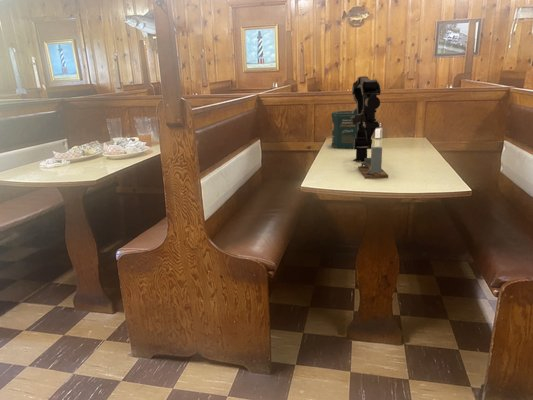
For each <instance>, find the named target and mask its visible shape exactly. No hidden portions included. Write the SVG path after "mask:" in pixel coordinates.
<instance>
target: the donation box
mask: <svg viewBox="0 0 533 400" xmlns="http://www.w3.org/2000/svg"><path fill="white" fill-rule="evenodd" d="M354 115H357V107H356V108H355V109H354V110H338V111H333V112H331V148H333V149H339V150H342V149H344V150H354V149H353V142H354V138H355V135H356V133H357V131H358V123H356V124H352V121H351V118H350V117H352V116H354ZM356 147H357V146H356Z"/></svg>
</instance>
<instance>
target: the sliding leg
mask: <svg viewBox="0 0 533 400" xmlns="http://www.w3.org/2000/svg"><path fill="white" fill-rule="evenodd" d="M370 151H371V152H370V153H371V155H370V158H371V170H367V172H368V174H369V173H381V168H382V163H383V162H382V161H383V160H382V159H383V147H382V146H371V149H370Z"/></svg>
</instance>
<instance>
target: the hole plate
mask: <svg viewBox="0 0 533 400" xmlns="http://www.w3.org/2000/svg"><path fill="white" fill-rule="evenodd" d="M357 169H358V171H359V172H360V173H361V175H362V177H363V178H364V179H389V174H388V173H387V172H386V171H385V170H384V169H383V168H382V167H381V173H369V174H368V172H367V170H371V157H367V158H365V162H361V165H359V166H357Z"/></svg>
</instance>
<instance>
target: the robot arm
mask: <svg viewBox="0 0 533 400" xmlns="http://www.w3.org/2000/svg"><path fill="white" fill-rule="evenodd" d="M381 90H382V89H381V85H380V83H379V81H378V79H370V78H369V77H368V76H366V75H365V76H358V77H357V80H356V81H355V82H354V83H352V87H351V94H352V98H353V101H355V103H356V108H357V115H354V116H352V117H350V118H351V121H352V124H356V123H358V131H357V133H356V135H355V138H354V142H353V149H352V150H356V151H355V158H354V159H353V160H352V161H355V162H361V163H364V162H365V158H368V150H371V147H372V143H373V139H372V137H373V134H374V132H375V131H376V129H379V128H380V123H379V121H378V120H377V118H376V113H377V109H379V107H380V105H381V100H380V98H379V97H377V96H381V92H382V91H381ZM356 146H357V147H356Z"/></svg>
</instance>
